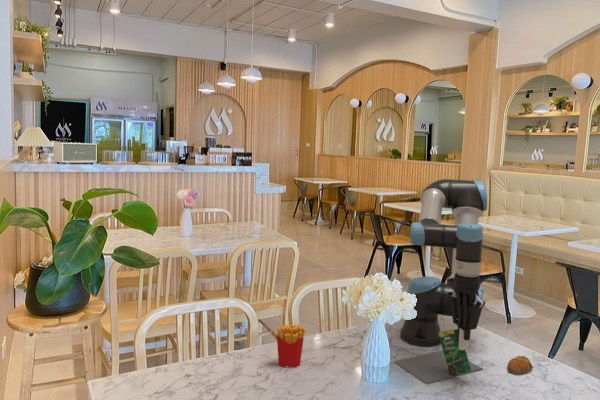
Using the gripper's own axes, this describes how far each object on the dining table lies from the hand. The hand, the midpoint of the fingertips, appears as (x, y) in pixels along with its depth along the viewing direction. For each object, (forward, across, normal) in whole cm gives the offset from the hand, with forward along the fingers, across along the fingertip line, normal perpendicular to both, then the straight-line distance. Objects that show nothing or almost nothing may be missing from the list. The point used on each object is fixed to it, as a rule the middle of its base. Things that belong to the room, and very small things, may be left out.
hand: (463, 348), depth 146 cm
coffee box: (+9, -1, 0) cm, 9 cm away
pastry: (+11, +2, +24) cm, 27 cm away
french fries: (+10, -32, -44) cm, 55 cm away
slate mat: (+10, -11, +1) cm, 15 cm away
